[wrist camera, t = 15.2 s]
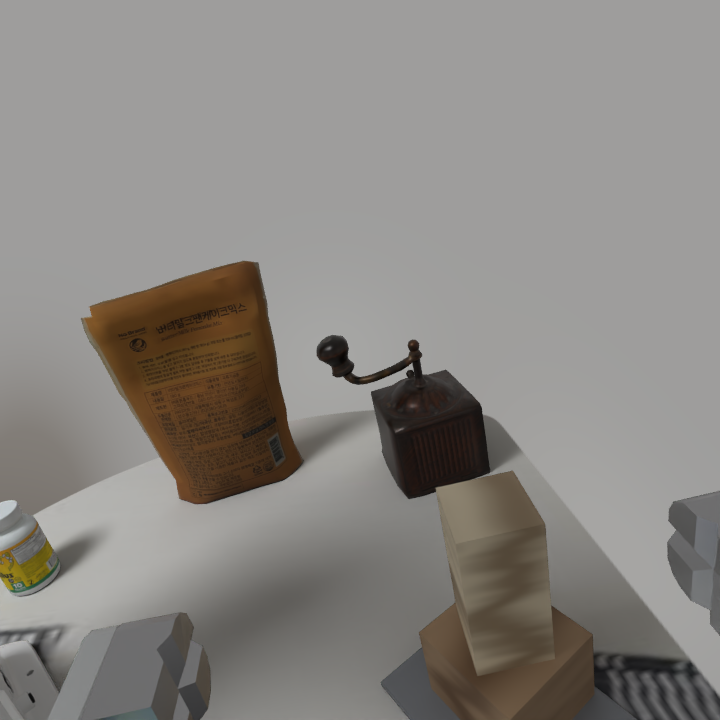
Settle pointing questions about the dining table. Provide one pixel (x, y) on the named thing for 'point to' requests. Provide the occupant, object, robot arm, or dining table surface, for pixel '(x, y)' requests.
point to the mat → (434, 716)
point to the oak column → (498, 571)
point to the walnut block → (510, 674)
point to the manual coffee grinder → (420, 422)
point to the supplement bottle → (24, 552)
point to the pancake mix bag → (201, 379)
